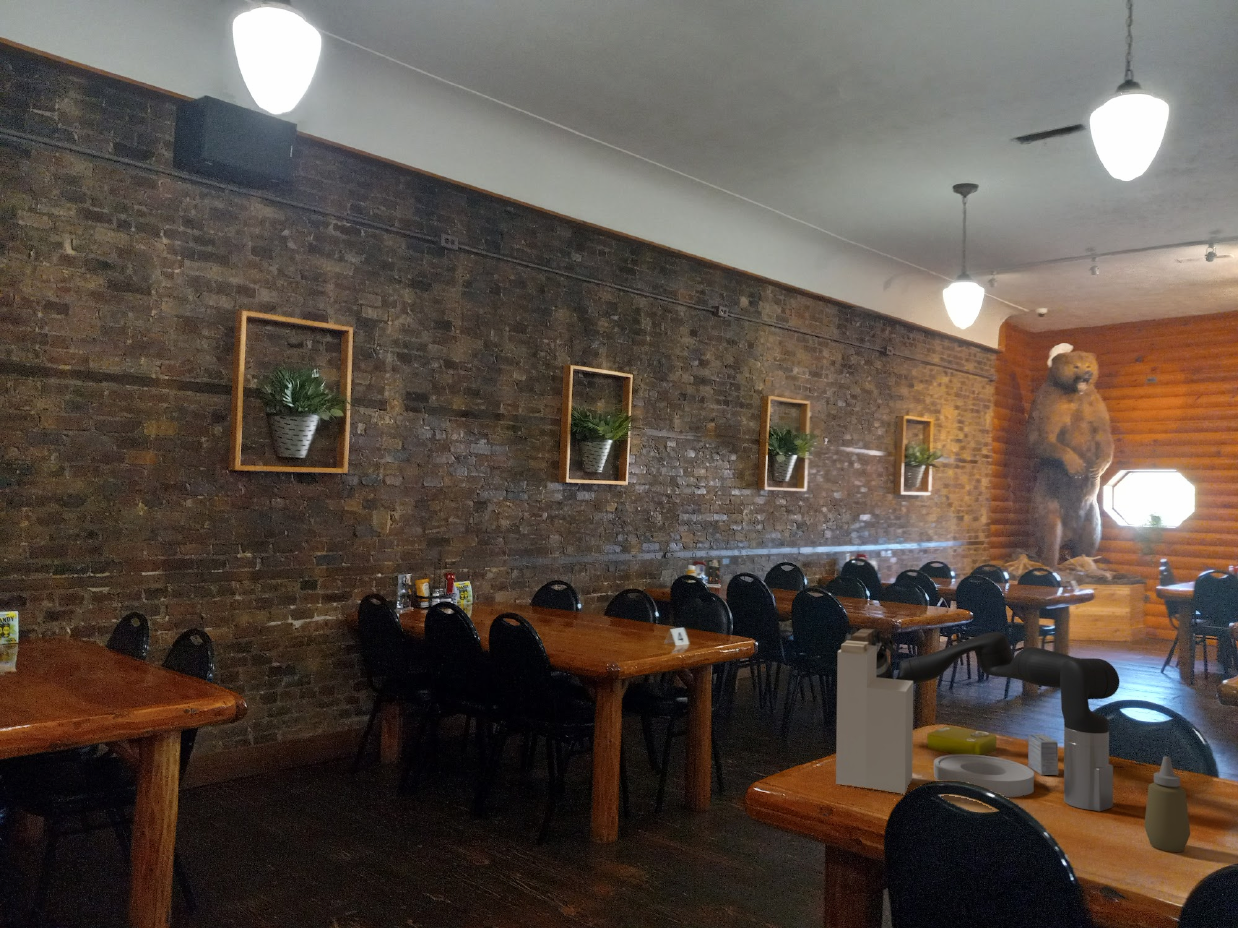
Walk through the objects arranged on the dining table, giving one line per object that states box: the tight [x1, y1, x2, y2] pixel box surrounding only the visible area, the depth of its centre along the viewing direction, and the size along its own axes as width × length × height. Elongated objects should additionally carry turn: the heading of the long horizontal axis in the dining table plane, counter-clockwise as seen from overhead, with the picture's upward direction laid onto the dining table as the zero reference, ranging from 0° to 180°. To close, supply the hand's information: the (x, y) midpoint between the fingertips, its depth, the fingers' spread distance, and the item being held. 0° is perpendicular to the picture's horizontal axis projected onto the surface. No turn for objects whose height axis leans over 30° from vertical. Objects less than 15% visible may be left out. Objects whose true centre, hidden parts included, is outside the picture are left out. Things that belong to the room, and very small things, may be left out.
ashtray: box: [933, 754, 1035, 798], centre depth 227 cm, size 23×23×4 cm
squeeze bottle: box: [1143, 755, 1191, 853], centre depth 185 cm, size 8×8×18 cm
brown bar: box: [840, 628, 875, 654], centre depth 232 cm, size 24×5×3 cm, turn 156°
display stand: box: [835, 645, 914, 796], centre depth 226 cm, size 15×16×32 cm
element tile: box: [926, 725, 997, 756], centre depth 259 cm, size 15×15×5 cm
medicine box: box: [1027, 733, 1059, 776], centre depth 237 cm, size 8×4×9 cm, turn 179°
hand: (864, 632), depth 238 cm, fingers open, 5 cm apart
